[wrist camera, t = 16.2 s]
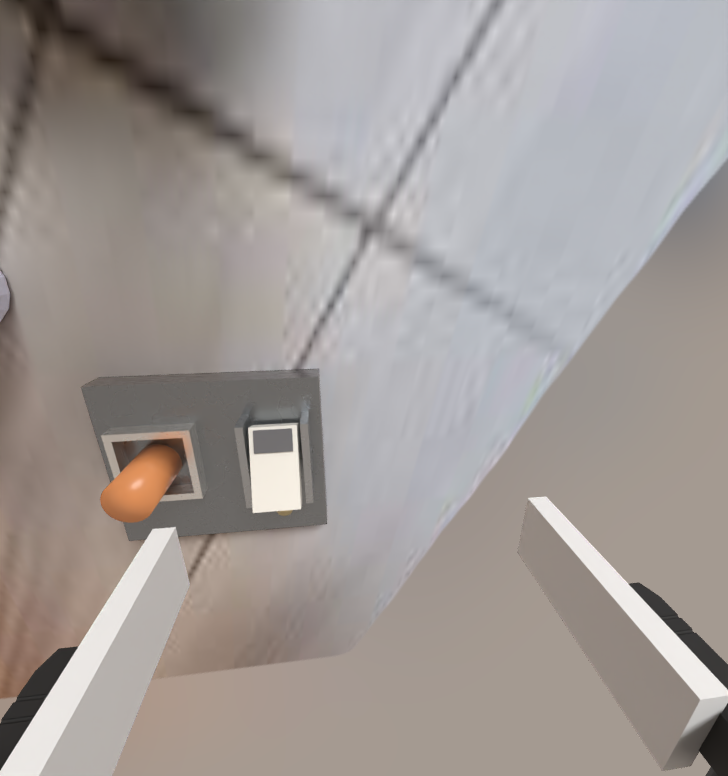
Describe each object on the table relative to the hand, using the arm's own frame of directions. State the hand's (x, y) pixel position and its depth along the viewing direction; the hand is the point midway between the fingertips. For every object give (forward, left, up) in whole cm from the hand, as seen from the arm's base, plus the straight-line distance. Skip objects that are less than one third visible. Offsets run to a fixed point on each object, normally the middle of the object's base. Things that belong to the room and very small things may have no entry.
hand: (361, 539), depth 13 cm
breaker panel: (+12, -14, -29) cm, 34 cm away
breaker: (+11, -7, -23) cm, 26 cm away
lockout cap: (+11, -20, -26) cm, 35 cm away
